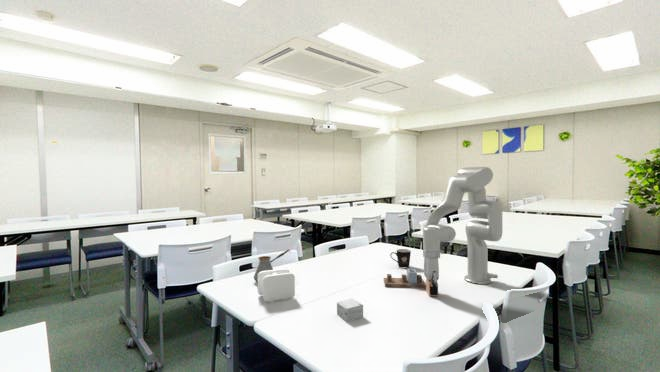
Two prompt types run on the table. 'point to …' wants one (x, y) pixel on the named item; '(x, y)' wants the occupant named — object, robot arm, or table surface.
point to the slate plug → (411, 276)
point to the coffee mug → (403, 257)
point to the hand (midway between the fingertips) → (431, 291)
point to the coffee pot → (265, 264)
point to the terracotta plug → (429, 287)
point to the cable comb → (403, 282)
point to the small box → (350, 309)
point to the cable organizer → (276, 284)
